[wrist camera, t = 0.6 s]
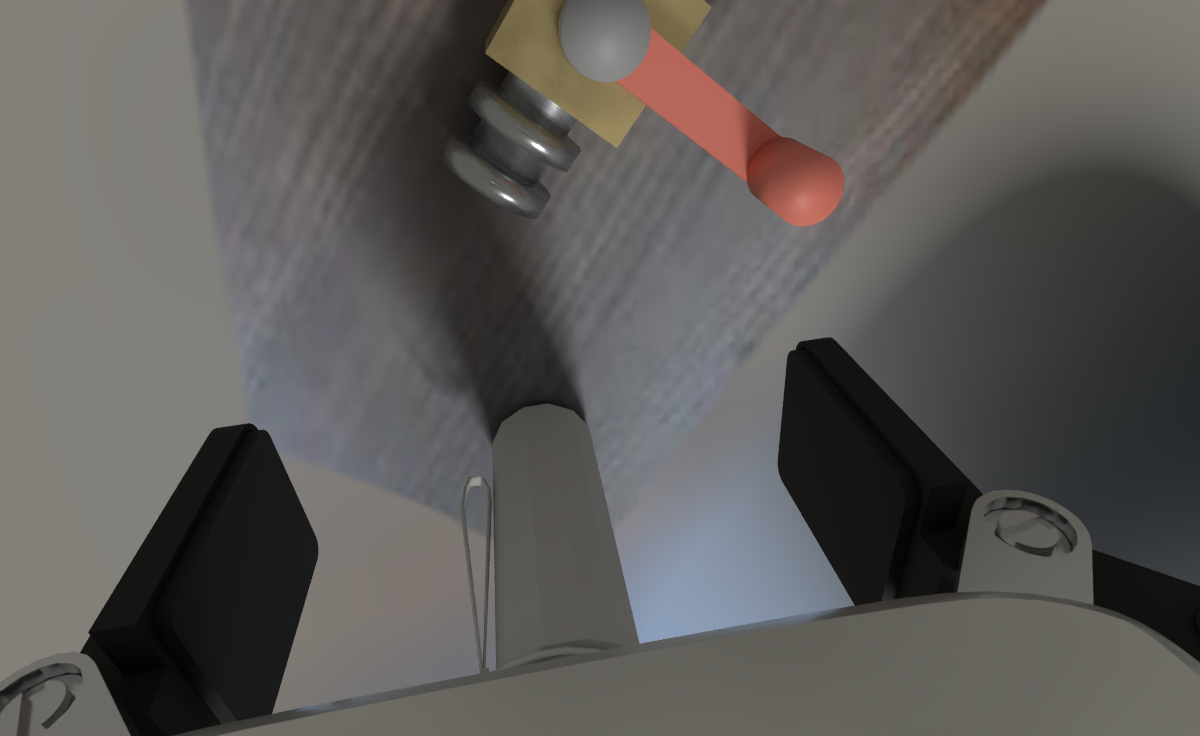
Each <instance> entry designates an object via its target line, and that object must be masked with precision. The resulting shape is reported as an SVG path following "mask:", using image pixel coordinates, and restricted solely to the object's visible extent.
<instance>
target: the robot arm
mask: <svg viewBox="0 0 1200 736" xmlns="http://www.w3.org/2000/svg"><path fill="white" fill-rule="evenodd" d="M778 470H779V474H780V477H781V480H782V482H783V483H784V485H785V487H786V488H787V490H788V492H789V494H790V495H791V497H792V499H793V501H794V502H795V504H796V506H797V507H798V509H799V511H800V512H801V514H802V516H803V518H804V519H805V521H806V523H807V524H808V526H809V528H810V529H811V531H812V533H813V535H814V536H815V538H816V540H817V542H818V543H819V545H820V547H821V548H822V550H823V552H824V554H825V555H826V557H827V559H828V560H829V562H830V564H831V565H832V567H833V569H834V571H835V572H836V574H837V575H838V577H839V579H840V581H841V583H842V584H843V586H844V588H845V589H846V591H847V593H848V594H849V596H850V598H851V600H852V601H853V603H854V605H855V606H850V607H844V608H838V609H832V610H825V611H819V612H813V613H807V614H801V615H796V616H791V617H785V618H779V619H774V620H768V621H763V622H757V623H751V624H746V625H740V626H735V627H729V628H724V629H718V630H713V631H707V632H702V633H696V634H691V635H685V636H680V637H674V638H668V639H663V640H657V641H652V642H647V643H641V644H636V645H630V646H625V647H620V648H614V649H609V650H603V651H598V652H593V653H587V654H582V655H577V656H571V657H566V658H560V659H555V660H550V661H544V662H539V663H534V664H528V665H523V666H518V667H512V668H507V669H502V670H496V671H492V672H486V673H480V674H475V675H470V676H465V677H459V678H454V679H449V680H444V681H439V682H434V683H428V684H423V685H418V686H413V687H407V688H402V689H397V690H391V691H387V692H381V693H376V694H371V695H365V696H360V697H355V698H350V699H345V700H339V701H334V702H329V703H324V704H319V705H313V706H308V707H304V708H299V709H294V710H289V711H285V712H279V713H275V714H272V712H273V709H274V705H275V702H276V699H277V695H278V692H279V688H280V685H281V682H282V678H283V674H284V671H285V668H286V665H287V661H288V658H289V654H290V651H291V647H292V644H293V640H294V637H295V634H296V630H297V627H298V623H299V620H300V617H301V613H302V610H303V607H304V603H305V599H306V596H307V593H308V589H309V586H310V583H311V579H312V576H313V572H314V569H315V566H316V562H317V558H318V543H317V539H316V536H315V534H314V532H313V529H312V527H311V525H310V523H309V521H308V518H307V516H306V514H305V512H304V510H303V507H302V505H301V503H300V501H299V499H298V497H297V494H296V492H295V490H294V487H293V485H292V483H291V481H290V479H289V477H288V474H287V472H286V470H285V468H284V465H283V463H282V461H281V459H280V457H279V454H278V452H277V450H276V448H275V446H274V443H273V441H272V439H271V437H270V435H269V433H268V432H267V431H266V430H258V429H257V428H256V427H255V426H254V425H253V424H250V423H248V424H241V425H234V426H229V427H222V428H216V429H213V431H211V433H210V434H209V436H208V437H207V439H206V440H205V442H204V444H203V445H202V447H201V449H200V450H199V452H198V454H197V455H196V457H195V459H194V460H193V462H192V464H191V465H190V467H189V468H188V470H187V472H186V473H185V475H184V476H183V478H182V480H181V481H180V483H179V485H178V486H177V488H176V490H175V491H174V493H173V494H172V496H171V498H170V500H169V501H168V503H167V504H166V506H165V508H164V509H163V511H162V513H161V514H160V516H159V517H158V519H157V521H156V522H155V524H154V526H153V527H152V529H151V530H150V532H149V534H148V535H147V537H146V539H145V540H144V542H143V544H142V545H141V547H140V549H139V550H138V552H137V553H136V555H135V557H134V558H133V560H132V562H131V563H130V565H129V567H128V568H127V570H126V572H125V573H124V575H123V576H122V578H121V580H120V581H119V583H118V584H117V586H116V588H115V589H114V591H113V593H112V594H111V596H110V598H109V600H108V601H107V602H106V604H105V606H104V608H103V609H102V611H101V612H100V614H99V616H98V617H97V619H96V621H95V622H94V624H93V626H92V627H91V629H90V630H89V632H88V633H89V634H90V637H89V639H88V640H87V642H86V644H85V645H84V647H83V649H82V650H81V652H80V653H76V652H70V653H61V654H55V655H52V656H49V657H46V658H43V659H40V660H37V661H35V662H34V663H31V664H30V665H28V666H26V667H24V668H22V669H20V670H18V671H16V672H15V673H13V674H12V675H10V676H9V677H8V678H6V679H5V680H3V681H2V682H0V736H1200V586H1198V585H1195V584H1192V583H1189V582H1186V581H1183V580H1180V579H1177V578H1174V577H1171V576H1168V575H1165V574H1162V573H1160V572H1156V571H1154V570H1151V569H1148V568H1145V567H1142V566H1139V565H1136V564H1133V563H1130V562H1127V561H1124V560H1121V559H1119V558H1116V557H1113V556H1110V555H1107V554H1104V553H1101V552H1098V551H1095V550H1092V543H1091V539H1090V536H1089V532H1088V531H1087V529H1086V528H1085V527H1084V525H1083V524H1082V523H1081V521H1080V520H1079V519H1078V518H1077V517H1075V516H1074V515H1073V514H1072V513H1071V512H1069V511H1068V510H1067V509H1065V508H1064V507H1062V506H1060V505H1058V504H1056V503H1055V502H1053V501H1051V500H1049V499H1046V498H1043V497H1041V496H1038V495H1035V494H1032V493H1027V492H1022V491H1016V490H998V491H993V492H989V493H985V494H984V495H983V494H982V493H981V492H980V491H979V490H978V489H977V487H976V486H975V485H974V484H973V483H972V482H971V481H970V480H969V479H968V478H967V477H966V476H965V475H964V474H963V473H962V472H961V471H960V470H959V469H958V468H957V467H956V466H955V465H954V464H953V462H951V460H950V459H949V458H948V457H947V456H946V455H945V454H944V453H943V452H942V451H941V450H940V449H939V448H938V447H937V446H936V445H935V444H934V443H933V442H932V441H931V440H930V438H928V437H927V435H926V434H925V433H924V432H923V431H922V430H921V429H920V428H919V427H918V426H917V425H916V424H915V423H914V422H913V421H912V420H911V419H910V418H909V417H908V416H907V415H906V413H905V412H904V411H903V410H902V409H901V408H900V407H899V406H898V405H897V404H896V403H895V402H894V401H893V400H892V399H891V398H890V397H889V396H888V395H887V394H886V393H885V392H884V391H883V390H882V389H881V388H880V387H879V386H878V385H877V384H876V382H875V381H874V380H873V379H872V378H871V377H870V376H869V375H868V374H867V373H866V372H865V371H864V370H863V369H862V368H861V367H860V366H859V365H858V364H857V363H856V362H855V361H854V359H853V358H852V357H850V355H849V354H848V353H847V352H846V351H845V350H844V349H843V348H842V347H841V346H840V345H839V344H838V343H837V342H836V341H835V340H834V339H833V338H822V339H814V340H807V341H801V342H799V344H798V345H797V347H796V350H793V351H790V352H789V354H788V358H787V367H786V378H785V388H784V400H783V410H782V422H781V432H780V442H779V453H778Z"/></svg>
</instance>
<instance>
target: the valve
mask: <svg viewBox="0 0 1200 736" xmlns="http://www.w3.org/2000/svg"><path fill="white" fill-rule="evenodd" d="M565 1H566V0H507V2H506V4H505V6H504V8H503V9H502V11H501V13H500V15H499V17H498V19H497V20H496V22H495V24H494V26H493V28H492V29H491V31H490V33H489V35H488V37H487V38H486V40H485V54H487V55H488V56H489V57H491V58H492V59H494V60H495V61H496V62H498V63H499V64H501V65H502V66H503V67H505V68H506V69H507V70H509V72H508V74H507V75H506V77H505V79H504V80H503V82H502V84H501V86H500V87H499V86H497V85H495V84H494V83H492V82H490V81H488V80H486V79H483V78H480V79H479V80H478V82H477V84H476V86H475V88H474V89H473V91H472V93H471V95H470V96H469V98H468V100H467V102H468V104H469V106H470V107H471V108H472V109H473V110H474V111H475V112H476V113H477V114H478V115H479V116H480V117H481V118H482V119H481V120H480V122H479V124H478V126H477V127H476V129H475V131H474V133H473V134H472V135H471V134H469V133H466V132H464V131H461V130H457V129H451V130H450V132H449V134H448V136H447V137H446V139H445V141H444V143H443V145H442V146H441V148H440V150H439V156H440V158H441V159H442V161H443V162H444V163H445V164H446V165H447V167H448V168H449V169H450V170H451V171H453V172H454V173H455V174H456V175H457V176H458V177H459V178H461V179H462V180H463V181H464V182H465V183H467V184H468V185H469V186H471V187H472V188H473V189H475V190H476V191H478V192H479V193H481V194H482V195H484V196H485V197H487V198H488V199H490V200H491V201H493V202H495V203H497V204H498V205H500V206H502V207H504V208H506V209H508V210H510V211H512V212H514V213H516V214H518V215H521V216H524V217H527V218H533V219H534V218H537V217H538V216H539V215H540V213H541V212H542V210H543V209H544V207H545V205H546V204H547V202H548V201H549V199H550V194H549V192H548V191H547V189H546V188H545V187H544V186H543V185H542V184H541V183H540V182H539V179H540V177H541V176H542V174H543V173H544V171H545V170H546V168H547V166H548V165H550V166H552V167H554V168H556V169H558V170H561V171H564V172H567V171H568V170H569V169H570V167H571V166H572V164H573V162H574V161H575V159H576V158H577V156H578V155H579V153H580V152H581V149H580V148H579V147H578V146H577V144H576V143H575V142H574V141H573V140H571V139H570V138H569V137H568V136H567V135H568V133H569V132H570V130H571V129H572V127H573V125H574V124H575V122H576V121H577V120H578V121H580V122H581V123H583V124H584V125H585V126H587V127H588V128H590V129H591V130H592V131H594V132H595V133H597V134H598V135H599V136H601V137H602V138H603V139H605V140H606V141H608V142H609V143H610V144H612V145H613V146H615V147H616V148H617V147H618V146H619V144H620V143H621V141H622V140H623V138H624V137H625V135H626V134H627V132H628V131H629V129H630V128H631V126H632V125H633V123H634V122H635V120H636V119H637V118H638V116H639V115H640V113H641V112H642V110H643V109H644V107H645V106H646V104H645V103H644V102H643V101H641V100H640V99H639V98H637V97H636V96H635V95H634V94H632V93H631V92H630V91H628V90H627V89H626V88H624V87H623V86H622V85H621V84H619V83H618V82H617V81H613V82H599V81H595V80H592V79H589V78H587V77H586V76H584V75H583V74H581V73H580V72H579V71H578V70H577V69H575V68H574V67H573V66H572V65H571V64H570V62H569V61H568V60H567V59H566V57H565V55H564V54H563V52H562V49H561V47H560V43H559V39H558V19H559V15H560V11H561V9H562V6H563V4H564V2H565ZM642 1H643V2H644V4H645V6H646V8H647V11H648V14H649V17H650V23H651V28H652V29H653V30H654V31H655V32H657V33H658V34H659V35H660V36H661V37H662V38H664V39H665V40H666V41H667V42H668V43H670V44H671V45H672V46H673V47H674V48H676V49H677V50H678V51H679V52H680V53H681V52H682V51H683V49H684V48H685V46H686V45H687V43H688V42H689V40H690V39H691V37H692V36H693V34H694V33H695V31H696V30H697V28H698V27H699V25H700V24H701V22H702V21H703V19H704V18H705V16H706V15H707V13H708V12H709V10H710V9H711V6H710V5H709V4H708V3H707V2H706V1H704V0H642Z"/></svg>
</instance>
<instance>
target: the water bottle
mask: <svg viewBox="0 0 1200 736" xmlns="http://www.w3.org/2000/svg"><path fill="white" fill-rule="evenodd" d="M478 485H480V486H481V487H482V489H483V490H484V492H485V494H486V495H487V497H488V505H487V540H486V574H485V609H484V645H483V647H484V648H483V663H482V654H481V646H480V637H479V628H478V621H477V612H476V603H475V594H474V586H473V577H472V568H471V560H470V551H469V543H468V534H467V526H466V517H465V508H464V506H465V499H466V495H467V493H468V491H469V488H470V486H478ZM493 500H494V560H495V561H494V563H495V619H496V620H495V623H496V670H502V669H507V668H512V667H518V666H523V665H528V664H534V663H539V662H544V661H550V660H555V659H560V658H566V657H571V656H577V655H582V654H587V653H593V652H598V651H603V650H609V649H614V648H620V647H625V646H630V645H636V644H639V640H638V636H637V632H636V627H635V623H634V619H633V614H632V610H631V606H630V602H629V597H628V593H627V589H626V584H625V580H624V576H623V572H622V567H621V563H620V559H619V555H618V550H617V546H616V542H615V537H614V533H613V529H612V525H611V520H610V516H609V512H608V508H607V503H606V499H605V495H604V490H603V486H602V482H601V478H600V473H599V469H598V465H597V461H596V456H595V452H594V448H593V443H592V439H591V435H590V431H589V427H588V425H587V424H586V423H585V422H584V421H583V420H582V419H581V418H580V417H579V416H578V415H577V414H576V413H575V412H574V411H573V410H570V409H566V408H563V407H559V406H556V405H552V404H549V403H547V404H541V405H534V406H528V407H523V408H522V409H520V410H519V411H517V412H516V413H514V414H513V415H512V416H510V417H509V418H507V419H506V420H504V421H503V422H502V423H501V425H500V427H499V429H498V432H497V434H496V436H495V438H494V440H493ZM491 507H492V499H491V488H490V487H489V485H488V483H487V481H486V480H485V479H484V478H482V477H468V480H467V482H466V484H465V487H464V492H463V498H462V504H461V520H462V528H463V536H464V545H465V552H466V561H467V569H468V578H469V586H470V594H471V602H472V610H473V618H474V626H475V635H476V643H477V652H478V661H479V669H480V673H486V672H489V668H485V662H486V637H487V611H488V610H487V609H488V584H489V561H490V560H489V559H490V535H491ZM496 670H495V671H496ZM480 673H479V674H480Z"/></svg>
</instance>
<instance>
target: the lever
mask: <svg viewBox="0 0 1200 736" xmlns="http://www.w3.org/2000/svg"><path fill="white" fill-rule="evenodd" d="M558 39H559V43H560V47H561V49H562V52H563V54H564V55H565V57H566V59H567V60H568V61H569V62H570V64H571V65H572V66H573V67H574V68H575V69H577V70H578V71H579V72H580V73H581V74H583V75H584V76H586V77H587V78H589V79H592V80H595V81H599V82H613V81H617V82H618V83H619V84H621V85H622V86H623V87H624V88H626V89H627V90H628V91H630V92H631V93H632V94H634V95H635V96H636V97H637V98H639V99H640V100H641V101H643V102H644V103H645V104H646V105H648V106H649V107H650V108H652V109H653V110H654V111H656V112H657V113H658V114H659V115H661V116H662V117H663V118H665V119H666V120H667V121H668V122H670V123H671V124H672V125H674V126H675V127H676V128H678V129H679V130H680V131H681V132H683V133H684V134H685V135H687V136H688V137H689V138H690V139H692V140H693V141H694V142H696V143H697V144H698V145H700V146H701V147H702V148H703V149H705V150H706V151H707V152H709V153H710V154H711V155H712V156H714V157H715V158H716V159H718V160H719V161H720V162H722V163H723V164H724V165H725V166H727V167H728V168H729V169H731V170H732V171H733V172H734V173H736V174H737V175H738V176H740V177H741V178H742V179H744V180H745V181H746V182H747V184H748V187H749V189H750V191H751V193H752V194H753V195H754V196H755V197H756V198H757V199H759V200H760V201H761V202H762V203H764V204H765V205H766V206H768V207H769V208H770V209H771V210H773V211H774V212H775V213H776V214H778V215H779V216H780V217H782V218H783V219H784V220H785V221H787V222H788V223H790V224H793V225H796V226H809V225H813V224H816V223H818V222H820V221H822V220H823V219H825V218H826V217H827V216H829V215H830V214H831V213H832V212H833V210H834V209H835V208H836V207H837V205H838V203H839V201H840V199H841V197H842V194H843V190H844V175H843V172H842V170H841V168H840V166H839V165H838V163H837V162H836V161H834V160H833V159H832V158H830V157H828V156H826V155H824V154H822V153H820V152H818V151H816V150H814V149H812V148H810V147H808V146H806V145H804V144H802V143H800V142H798V141H796V140H794V139H791V138H786V137H780V136H779V135H778V134H777V133H776V132H774V131H773V130H772V129H771V128H770V127H769V126H767V125H766V124H765V123H764V122H763V121H761V120H760V119H759V118H758V117H757V116H755V115H754V114H753V113H752V112H751V111H749V110H748V109H747V108H746V107H745V106H743V105H742V104H741V103H740V102H739V101H738V100H736V99H735V98H734V97H733V96H732V95H730V94H729V93H728V92H727V91H726V90H724V89H723V88H722V87H721V86H720V85H718V84H717V83H716V82H715V81H714V80H713V79H711V78H710V77H709V76H708V75H707V74H705V73H704V72H703V71H702V70H701V69H699V68H698V67H697V66H696V65H695V64H693V63H692V62H691V61H690V60H689V59H687V58H686V57H685V56H684V55H683V54H682V53H680V52H679V51H678V50H677V49H676V48H674V47H673V46H672V45H671V44H670V43H668V42H667V41H666V40H665V39H664V38H662V37H661V36H660V35H659V34H658V33H657V32H655V31H654V30H653V29H652V28H651V23H650V17H649V14H648V11H647V8H646V6H645V4H644V2H643V1H642V0H566V1H565V2H564V4H563V6H562V9H561V11H560V15H559V19H558Z"/></svg>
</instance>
